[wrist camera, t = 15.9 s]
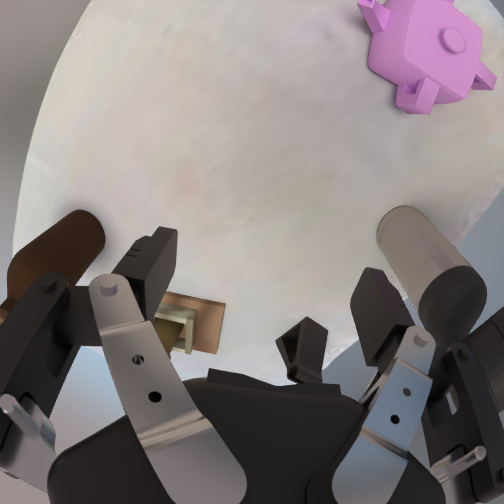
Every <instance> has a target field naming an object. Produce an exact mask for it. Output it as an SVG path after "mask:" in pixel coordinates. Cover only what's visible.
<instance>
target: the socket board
mask: <svg viewBox="0 0 504 504" xmlns="http://www.w3.org/2000/svg"><path fill="white" fill-rule="evenodd" d="M224 306H225V303H219V302H214V301H209V300H204V299H200V298H195V297H190V296H185V295H181V294H176V293H171V292H167V291H166V292H165V294H164V296H163V298H162V301H161V303H160V305H159V307H158V309H157V312H156V314H155V316H154V318H153V321H152V325H153V324H154V320H155V317H158V318H162V319H167V320H171V321H175V322H180V323H184V327H183V330H182V331H181V333H180V335H179V337H178V339H177V341H176V343H175V345H174V346H173V348H172V350H173V351H177V352H181V353H186V354H190V355H191V352H192V349H193V350H197V351H202V352H207V353H212V354H216V353H217V347H218V341H219V335H220V329H221V324H222V318H223V312H224Z"/></svg>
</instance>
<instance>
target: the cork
mask: <svg viewBox="0 0 504 504" xmlns="http://www.w3.org/2000/svg"><path fill="white" fill-rule="evenodd" d="M153 327H154V329H155V331H156V333H157V335H158V337H159V339H160V341H161V343H162V345H163V347H164V349H165V351H166V353H167V355H168V357H169V359H170V360H171V356H170V352H171V350H172V348H173V346H174V345H175V343H176V341H177V339H178V337H179V335H180V333H181V331H182V330H183V327H184V323H180V322H175V321H171V320H167V319H162V318H158V317H155V320H154V324H153Z"/></svg>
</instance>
